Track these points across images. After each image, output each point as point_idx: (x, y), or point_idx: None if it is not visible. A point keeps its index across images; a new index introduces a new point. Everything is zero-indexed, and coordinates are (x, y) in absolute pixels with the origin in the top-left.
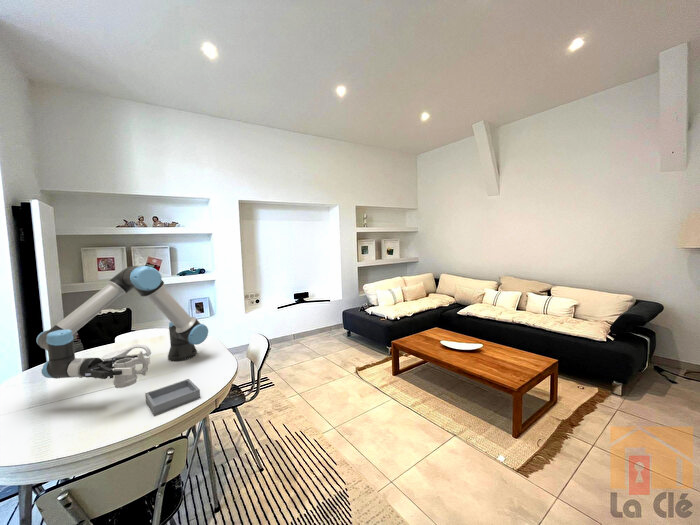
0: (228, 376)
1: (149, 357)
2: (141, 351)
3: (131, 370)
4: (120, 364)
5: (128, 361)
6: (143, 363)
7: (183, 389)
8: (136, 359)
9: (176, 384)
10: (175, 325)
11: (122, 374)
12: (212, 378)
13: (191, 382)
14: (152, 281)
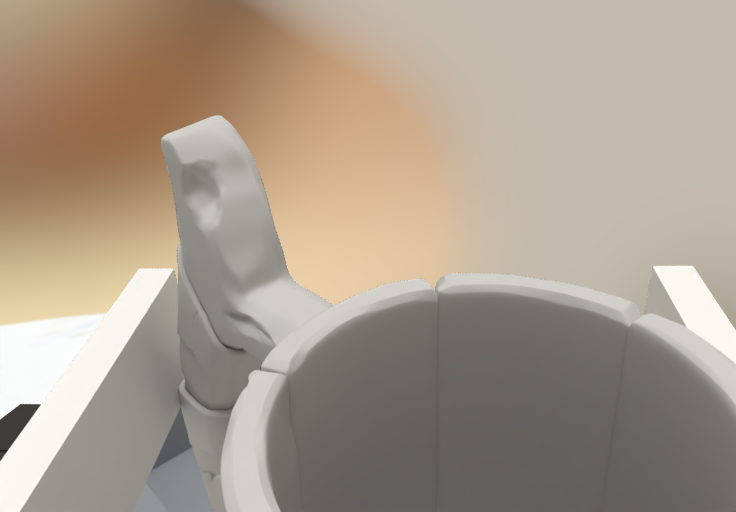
0: (62, 324)
1: (149, 273)
2: (216, 119)
3: (653, 311)
4: (733, 374)
5: (544, 289)
6: (257, 367)
7: (182, 490)
8: (319, 304)
9: (155, 500)
10: None
11: None
12: (30, 396)
13: None
14: None
